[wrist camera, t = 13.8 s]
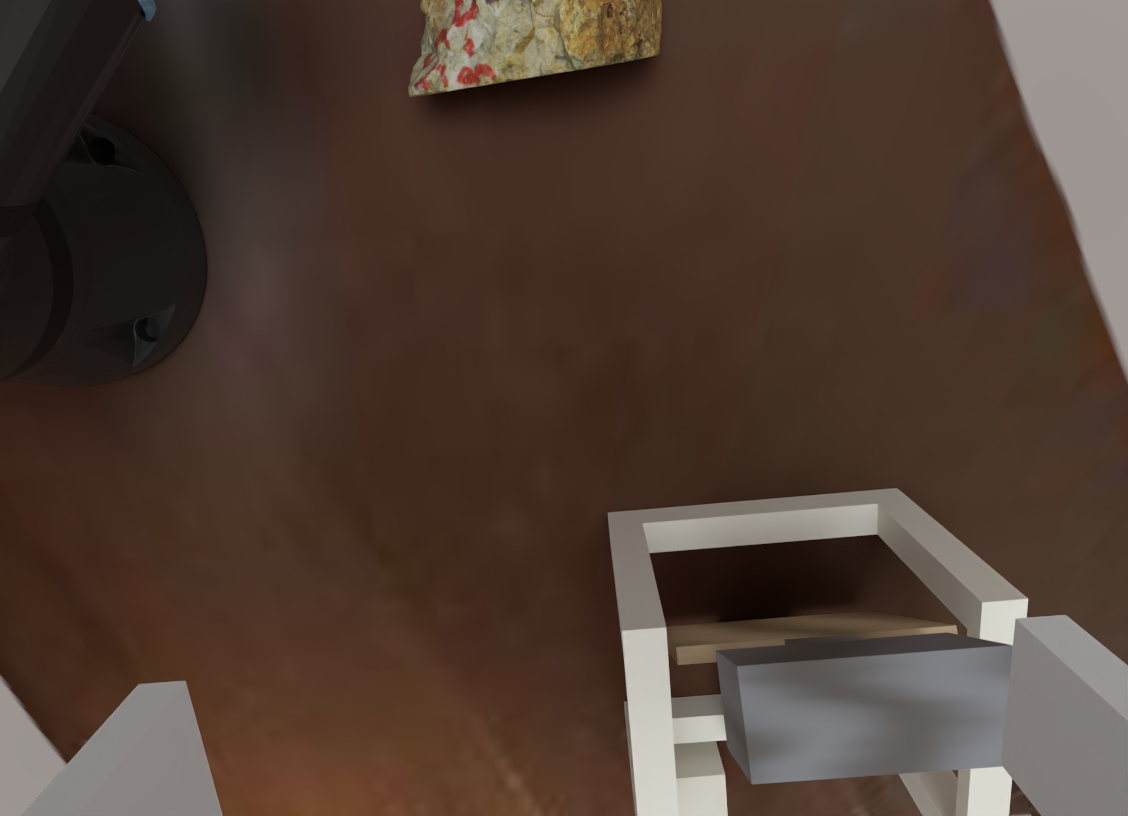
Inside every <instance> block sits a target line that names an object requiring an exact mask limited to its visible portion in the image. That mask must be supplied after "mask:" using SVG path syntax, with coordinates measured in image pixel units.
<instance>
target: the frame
mask: <svg viewBox="0 0 1128 816" xmlns="http://www.w3.org/2000/svg"><path fill="white" fill-rule="evenodd" d="M608 524H609V536H610V546H611V554H612V562H613V571H614V579H615V588H616V596H617V605H618V613H619V621H620V630H621V638H622V647H623V655H624V667H625V679H626V690H627V701H624V710H625V721H626V731H627V741H628V750H629V760H630V769H631V778H632V788H633V797H634V806H635V816H679V815H678V800H677V784H676V769H675V754H674V744H681V743H694V742H708V741H722V740H727V739H726V731H725V723H724V714H723V706H722V698H721V694H716V695H703V696H690V697H677V698H671V692H670V677H669V661H668V646H667V631H666V624H665V620H664V615H663V611H662V607H661V602H660V598H659V594H658V589H657V585H656V580H655V576H654V572H653V567H652V563H651V559H650V554H649V553H657V552H669V551H681V550H693V549H706V548H718V547H730V546H742V545H754V544H766V543H778V542H790V541H802V540H815V539H827V538H839V537H851V536H863V535H875V534H877V535H878V536H879V537H880V538H881V539H882V540H883V541H884V542H885V543H886V544H887V545H888V546H889V547H890V548H891V549H892V550H893V551H894V552H895V554H896V555H897V556H898V557H899V558H900V559H901V560H902V561H903V562H904V563H905V564H906V565H907V566H908V567H909V568H910V569H911V570H912V571H913V572H914V573H915V575H916V576H917V577H918V578H919V579H920V580H921V581H922V582H923V583H924V584H925V585H926V586H927V587H928V588H929V589H930V590H931V591H932V592H933V593H934V594H935V596H936V597H937V598H938V599H939V600H940V601H941V602H942V603H943V604H944V605H945V606H946V607H947V608H948V609H949V610H950V611H951V612H952V613H953V614H954V616H955V617H956V618H957V619H958V620H959V621H960V622H961V623H962V624H963V625H964V626H965V627H966V628H967V636H968V637H973V638H978V639H983V640H989V641H994V642H999V643H1004V644H1009V645H1012V646H1013V639H1014V629H1015V619H1017V618H1027V606H1028V598H1027V597H1025V596H1024V595H1023V594H1022V593H1021V592H1020V591H1018V590H1017V589H1016V588H1015V587H1014V586H1012V585H1011V584H1010V583H1009V582H1008V581H1006V580H1005V579H1004V578H1003V577H1002V576H1001V575H999V574H998V573H997V572H996V571H995V570H993V569H992V568H991V567H990V566H989V565H988V564H986V563H985V562H984V561H983V560H982V559H980V558H979V557H978V556H977V555H976V554H975V553H973V552H972V551H971V550H970V549H969V548H967V547H966V546H965V545H964V544H963V543H962V542H960V541H959V540H958V539H957V538H956V537H954V536H953V535H952V534H951V533H950V532H949V531H947V530H946V529H945V528H944V527H943V526H941V525H940V524H939V523H938V522H937V521H935V520H934V519H933V518H932V517H931V516H930V515H928V514H927V513H926V512H925V511H924V510H922V509H921V508H920V507H919V506H918V505H917V504H915V503H914V502H913V501H912V500H911V499H909V498H908V497H907V496H906V495H905V494H904V493H902V492H901V491H900V490H899V489H898V488H891V489H880V490H868V491H856V492H844V493H832V494H821V495H809V496H797V497H785V498H773V499H762V500H750V501H738V502H726V503H714V504H703V505H691V506H679V507H667V508H655V509H644V510H632V511H620V512H608ZM899 776H900V778H901V779H902V781H903V783H904V784H905V786H906V788H907V790H908V791H909V793H910V795H911V796H912V798H913V800H914V802H915V803H916V805H917V807H918V808H919V810H920V812H921V814H922V815H923V816H1009V808H1010V797H1011V786H1012V778H1011V776H1010V775H1009V774H1008V773H1007V771H1006V770H1005V769H1004V767H989V768H975V769H961V770H958V779H957V778H956V776H955V775H954V773H953V772H952V770H947V771H933V772H919V773H904V774H899Z"/></svg>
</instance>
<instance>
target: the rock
mask: <svg viewBox="0 0 1128 816" xmlns="http://www.w3.org/2000/svg"><path fill="white" fill-rule="evenodd" d="M420 7H421V11H422V12H423V13H424V14H425V18H426V25H425V29H424V35H423V37H422V40H421V46H422V56H421V57H420V58H419V59H418V61H417V63H416V64H415V65H414V67H413V72H412V74H411V82H410V84H409V87H408V92H409V96H410V97H416V96H423V95H430V94H436V93H442V92H448V91H454V90H460V89H466V88H472V87H478V86H484V85H490V84H496V83H502V82H508V81H514V80H520V79H526V78H532V77H538V76H544V75H550V74H556V73H563V72H569V71H575V70H581V69H587V68H593V67H599V66H604V65H610V64H616V63H622V62H627V61H632V60H638V59H642V58H647V57H652V56H657V55H659V44H660V38H661V17H662V3H661V0H421V4H420Z"/></svg>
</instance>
